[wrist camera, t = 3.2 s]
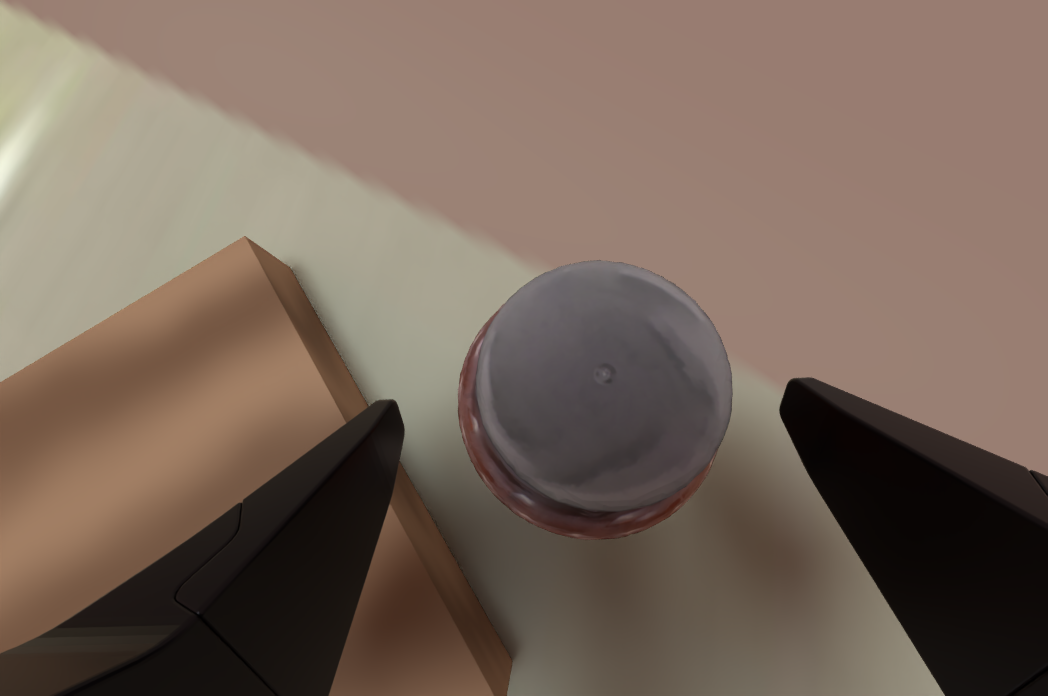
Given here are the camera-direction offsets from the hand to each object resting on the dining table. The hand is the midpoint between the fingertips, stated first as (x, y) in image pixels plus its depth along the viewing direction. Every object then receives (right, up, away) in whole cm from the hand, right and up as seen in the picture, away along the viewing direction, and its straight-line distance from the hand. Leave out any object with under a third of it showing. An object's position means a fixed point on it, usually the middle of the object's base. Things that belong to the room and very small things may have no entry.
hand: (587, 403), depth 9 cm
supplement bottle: (0, -2, +8) cm, 8 cm away
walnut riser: (-14, -7, +7) cm, 17 cm away
